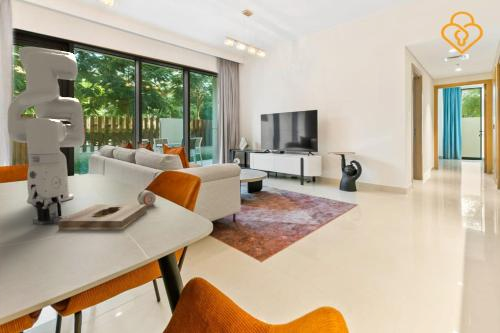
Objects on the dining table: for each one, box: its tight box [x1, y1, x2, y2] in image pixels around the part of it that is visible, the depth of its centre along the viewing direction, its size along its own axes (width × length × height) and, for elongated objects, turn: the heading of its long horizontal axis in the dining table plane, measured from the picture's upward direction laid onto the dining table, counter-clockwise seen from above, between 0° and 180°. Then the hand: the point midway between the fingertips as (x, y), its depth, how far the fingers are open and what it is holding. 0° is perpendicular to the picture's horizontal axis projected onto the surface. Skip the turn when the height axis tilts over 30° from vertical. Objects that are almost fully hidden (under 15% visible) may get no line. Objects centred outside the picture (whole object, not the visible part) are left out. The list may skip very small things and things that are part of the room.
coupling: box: [32, 202, 67, 225], centre depth 79 cm, size 9×4×6 cm, turn 91°
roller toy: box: [137, 189, 156, 207], centre depth 99 cm, size 4×6×6 cm
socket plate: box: [57, 204, 148, 230], centre depth 82 cm, size 18×18×2 cm
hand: (50, 218), depth 79 cm, fingers closed on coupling, 4 cm apart
